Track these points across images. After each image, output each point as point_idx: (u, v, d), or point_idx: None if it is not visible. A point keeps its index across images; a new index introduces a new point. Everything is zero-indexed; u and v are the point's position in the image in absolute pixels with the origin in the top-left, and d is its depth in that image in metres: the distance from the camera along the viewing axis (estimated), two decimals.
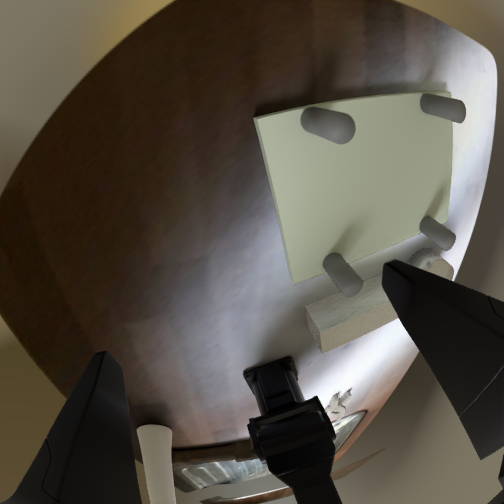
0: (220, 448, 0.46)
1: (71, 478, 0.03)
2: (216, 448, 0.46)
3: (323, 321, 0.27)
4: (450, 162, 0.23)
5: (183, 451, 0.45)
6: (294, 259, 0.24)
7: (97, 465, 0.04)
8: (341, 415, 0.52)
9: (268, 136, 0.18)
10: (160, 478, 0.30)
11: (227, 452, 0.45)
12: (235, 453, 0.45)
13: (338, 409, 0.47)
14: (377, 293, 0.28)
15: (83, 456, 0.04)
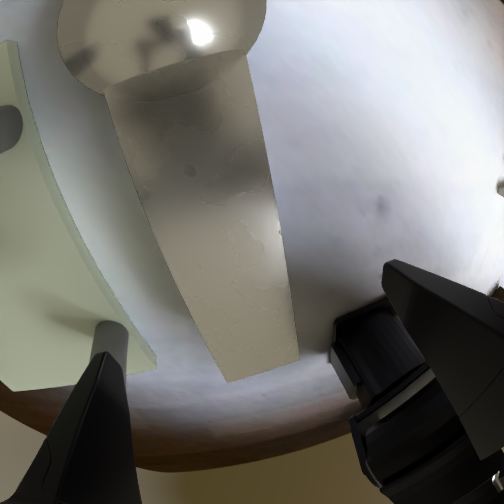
0: None
1: (71, 478, 0.03)
2: None
3: None
4: None
5: None
6: None
7: (97, 465, 0.04)
8: None
9: (18, 387, 0.15)
10: None
11: None
12: None
13: None
14: None
15: (83, 456, 0.04)
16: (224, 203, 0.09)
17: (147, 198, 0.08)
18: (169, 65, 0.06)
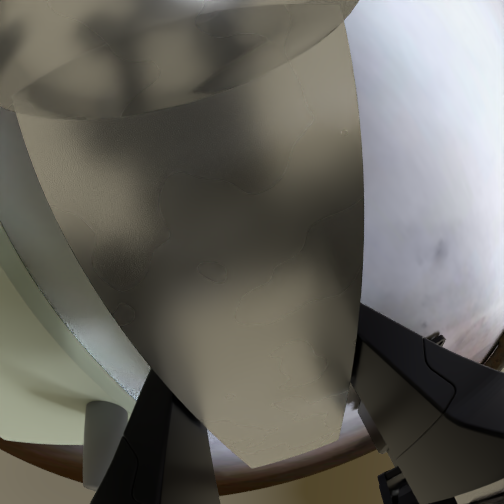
0: (491, 359, 0.27)
1: (168, 478, 0.04)
2: (488, 362, 0.27)
3: None
4: None
5: None
6: None
7: (186, 459, 0.05)
8: None
9: (9, 438, 0.11)
10: None
11: (499, 359, 0.25)
12: None
13: None
14: None
15: (172, 450, 0.05)
16: (277, 320, 0.05)
17: (131, 320, 0.04)
18: (163, 26, 0.02)
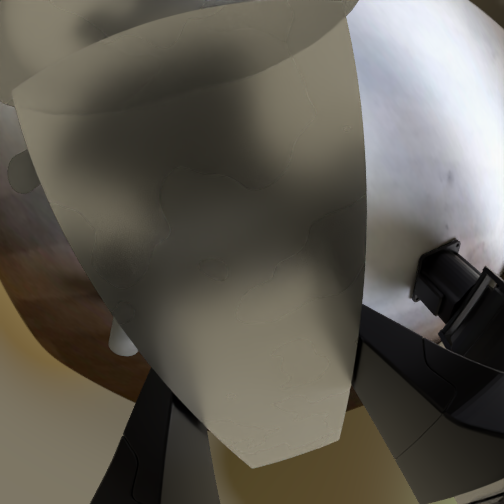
0: None
1: (168, 478, 0.04)
2: None
3: None
4: None
5: None
6: None
7: (186, 459, 0.05)
8: None
9: None
10: None
11: None
12: None
13: None
14: None
15: (171, 450, 0.05)
16: (278, 319, 0.05)
17: (130, 318, 0.04)
18: (164, 20, 0.02)
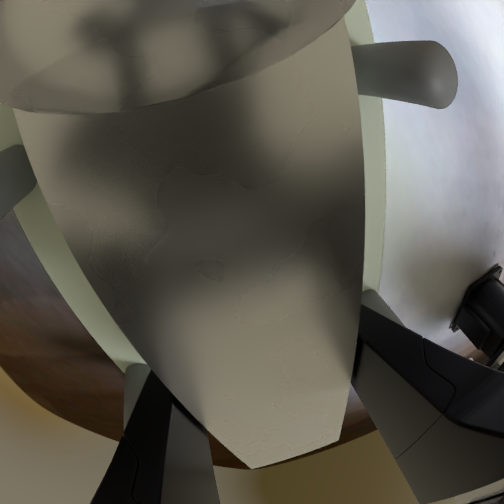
0: None
1: (168, 478, 0.04)
2: None
3: None
4: None
5: None
6: None
7: (186, 459, 0.05)
8: None
9: None
10: None
11: None
12: None
13: None
14: None
15: (172, 450, 0.05)
16: (277, 319, 0.05)
17: (128, 318, 0.04)
18: (161, 21, 0.02)
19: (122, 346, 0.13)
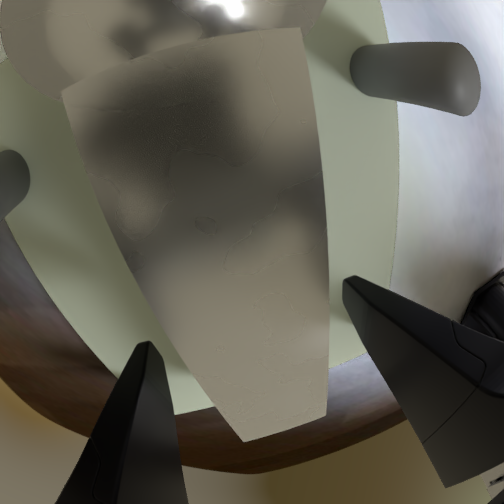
0: None
1: (126, 480, 0.04)
2: None
3: None
4: None
5: None
6: (340, 360, 0.16)
7: (149, 463, 0.05)
8: None
9: (175, 410, 0.15)
10: None
11: None
12: None
13: None
14: None
15: (134, 454, 0.05)
16: (257, 272, 0.06)
17: (140, 267, 0.05)
18: (173, 47, 0.03)
19: (123, 359, 0.12)
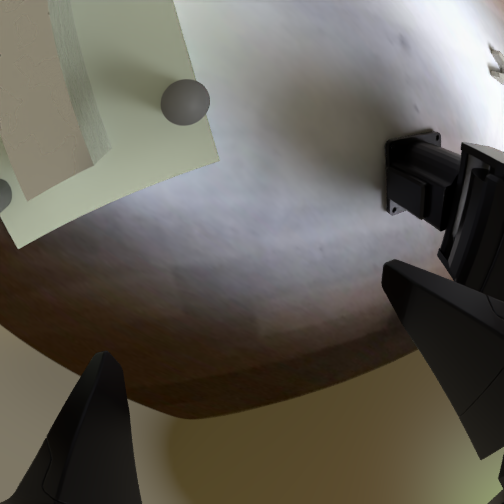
0: None
1: (71, 478, 0.03)
2: None
3: None
4: None
5: None
6: (170, 170, 0.15)
7: (97, 465, 0.04)
8: None
9: (27, 235, 0.14)
10: None
11: None
12: None
13: None
14: None
15: (83, 456, 0.04)
16: (16, 7, 0.05)
17: None
18: None
19: None
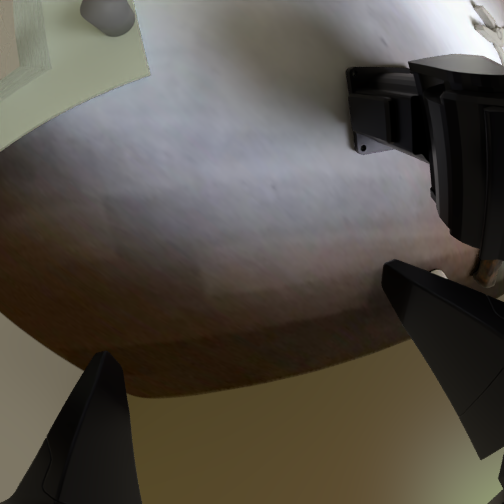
0: None
1: (71, 478, 0.03)
2: None
3: None
4: None
5: (481, 263, 0.31)
6: (100, 85, 0.12)
7: (97, 465, 0.04)
8: None
9: None
10: None
11: None
12: None
13: (503, 34, 0.13)
14: None
15: (83, 456, 0.04)
16: None
17: None
18: None
19: None
